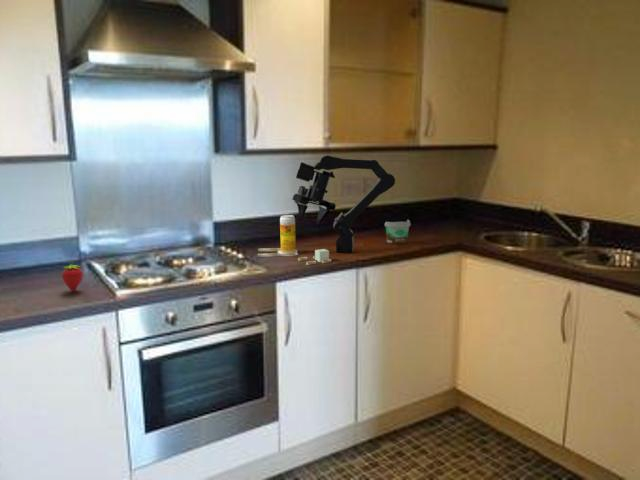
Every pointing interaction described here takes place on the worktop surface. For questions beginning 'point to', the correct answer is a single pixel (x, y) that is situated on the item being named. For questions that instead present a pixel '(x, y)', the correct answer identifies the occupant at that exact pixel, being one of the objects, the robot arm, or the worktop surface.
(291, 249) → the yellow tall cylinder
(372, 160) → the robot arm
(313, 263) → the broken lane
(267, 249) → the lane
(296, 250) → the mat
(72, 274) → the strawberry
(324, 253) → the sage cube
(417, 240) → the worktop surface
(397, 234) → the food container
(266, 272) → the worktop surface
